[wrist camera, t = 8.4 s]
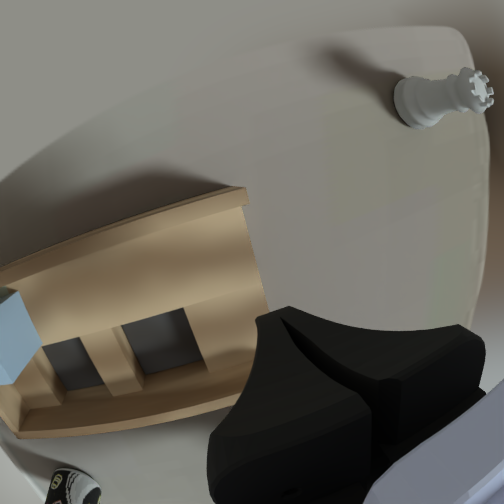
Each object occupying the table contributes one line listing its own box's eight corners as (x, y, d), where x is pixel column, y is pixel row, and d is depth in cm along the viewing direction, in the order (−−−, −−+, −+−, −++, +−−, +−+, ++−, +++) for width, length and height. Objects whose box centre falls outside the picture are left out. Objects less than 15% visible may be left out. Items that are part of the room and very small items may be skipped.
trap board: (274, 345, 22) (295, 384, 18) (36, 403, 19) (18, 438, 15) (231, 186, 19) (245, 187, 14) (-28, 280, 16) (-63, 301, 11)
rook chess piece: (430, 134, 21) (503, 128, 14) (391, 124, 20) (467, 111, 13) (427, 86, 20) (495, 69, 13) (388, 73, 19) (458, 46, 12)
